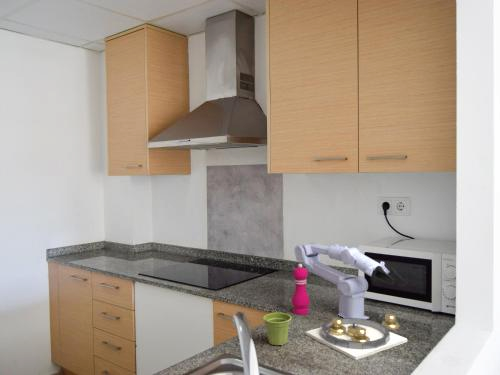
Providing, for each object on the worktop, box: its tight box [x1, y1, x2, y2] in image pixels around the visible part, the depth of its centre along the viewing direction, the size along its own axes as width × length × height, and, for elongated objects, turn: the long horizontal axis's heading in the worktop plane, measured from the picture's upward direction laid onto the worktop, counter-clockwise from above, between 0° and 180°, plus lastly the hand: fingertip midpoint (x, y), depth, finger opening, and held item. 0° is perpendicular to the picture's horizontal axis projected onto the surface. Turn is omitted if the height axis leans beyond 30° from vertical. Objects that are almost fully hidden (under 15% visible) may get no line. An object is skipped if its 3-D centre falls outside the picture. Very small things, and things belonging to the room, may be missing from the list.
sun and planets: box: [329, 317, 370, 342], centre depth 142 cm, size 17×9×4 cm, turn 32°
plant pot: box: [262, 312, 292, 346], centre depth 141 cm, size 9×9×9 cm
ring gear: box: [321, 317, 390, 349], centre depth 143 cm, size 22×22×2 cm
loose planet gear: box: [381, 312, 400, 331], centre depth 153 cm, size 6×6×4 cm
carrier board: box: [305, 324, 408, 361], centre depth 143 cm, size 24×24×1 cm
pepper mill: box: [291, 263, 311, 316], centre depth 170 cm, size 7×7×20 cm
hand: (398, 283), depth 145 cm, fingers open, 7 cm apart
